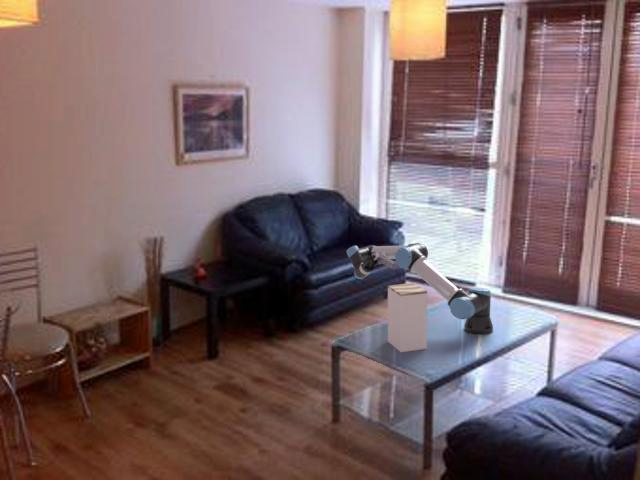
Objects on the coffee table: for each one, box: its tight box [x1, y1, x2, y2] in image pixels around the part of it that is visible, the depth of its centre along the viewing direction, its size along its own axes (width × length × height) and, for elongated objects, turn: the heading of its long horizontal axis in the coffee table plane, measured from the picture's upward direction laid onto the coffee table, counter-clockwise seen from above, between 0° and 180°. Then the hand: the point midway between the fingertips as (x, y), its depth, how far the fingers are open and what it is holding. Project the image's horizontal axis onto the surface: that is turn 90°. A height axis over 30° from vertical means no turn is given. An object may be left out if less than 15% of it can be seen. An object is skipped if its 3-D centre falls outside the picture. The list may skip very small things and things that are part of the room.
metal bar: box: [373, 253, 399, 270], centre depth 344 cm, size 26×3×3 cm, turn 17°
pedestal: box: [387, 282, 428, 353], centre depth 323 cm, size 16×14×30 cm
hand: (381, 253), depth 348 cm, fingers closed on metal bar, 3 cm apart
